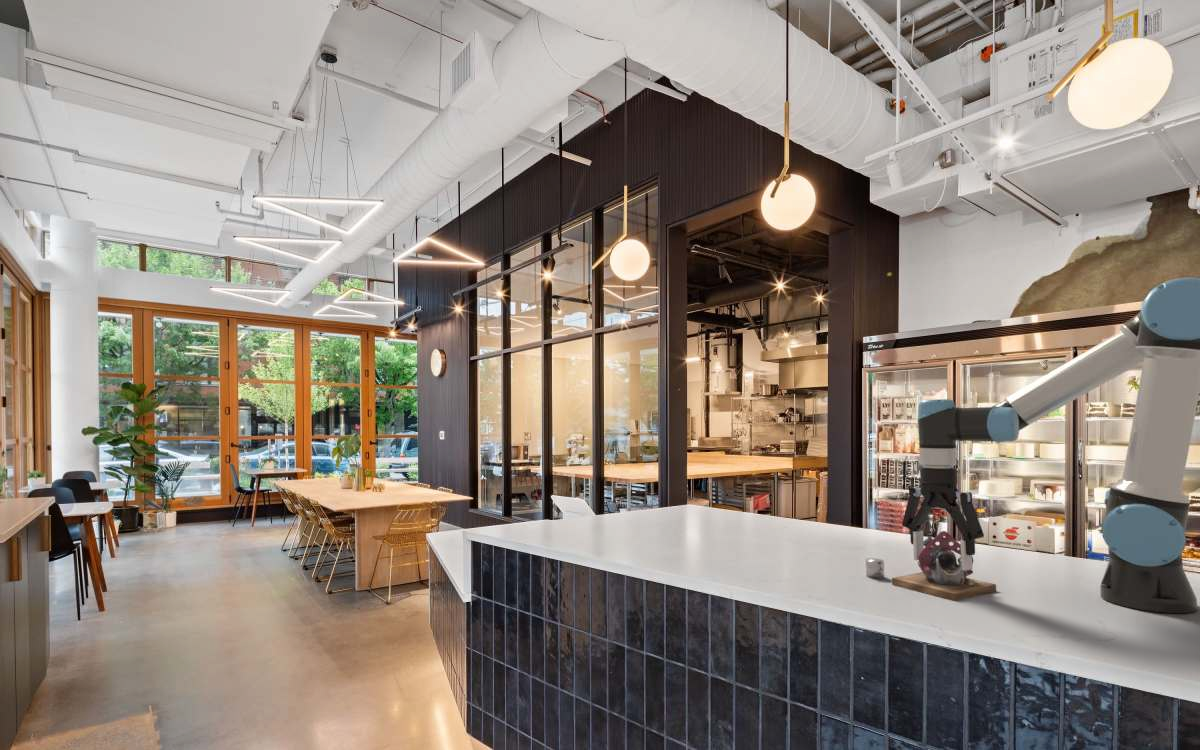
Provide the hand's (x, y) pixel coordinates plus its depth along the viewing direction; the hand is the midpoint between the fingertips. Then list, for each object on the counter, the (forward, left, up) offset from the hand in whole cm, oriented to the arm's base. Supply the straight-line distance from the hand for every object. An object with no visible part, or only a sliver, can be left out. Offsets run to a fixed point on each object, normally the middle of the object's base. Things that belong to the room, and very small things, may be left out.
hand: (942, 564), depth 143 cm
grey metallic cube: (+14, +5, -5) cm, 16 cm away
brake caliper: (0, -1, -4) cm, 4 cm away
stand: (0, 0, -5) cm, 5 cm away
